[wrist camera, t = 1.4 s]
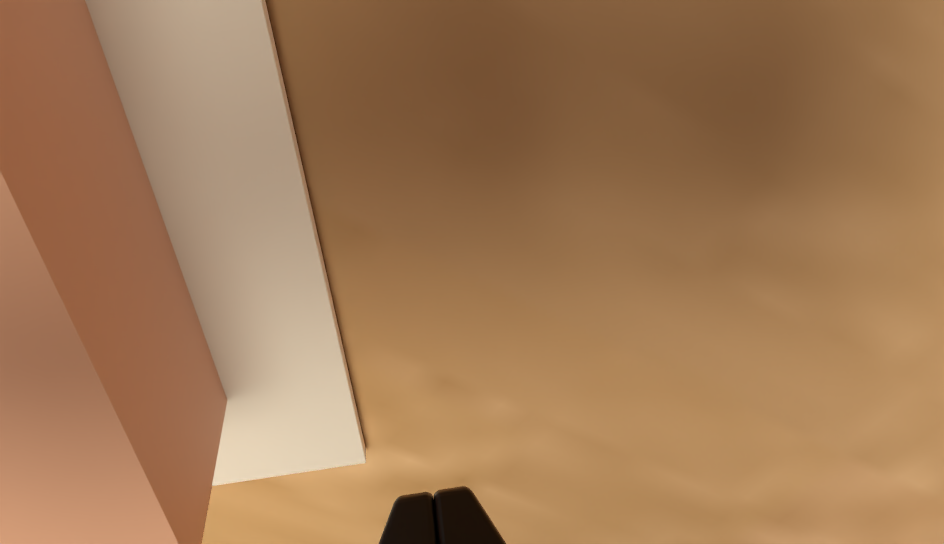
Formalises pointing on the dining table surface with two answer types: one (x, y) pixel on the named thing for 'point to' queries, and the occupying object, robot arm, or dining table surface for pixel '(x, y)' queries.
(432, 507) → the robot arm
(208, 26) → the mat
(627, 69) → the dining table surface
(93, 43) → the t block
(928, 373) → the dining table surface
